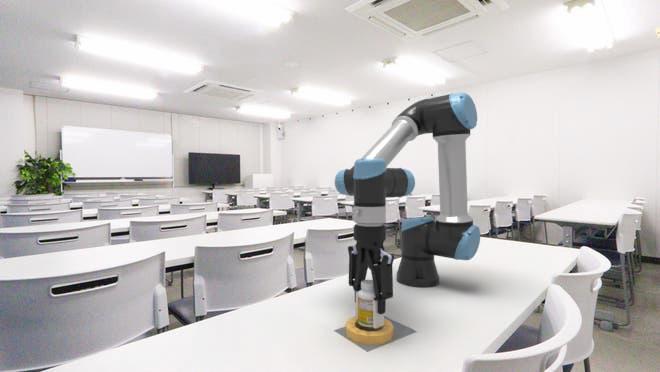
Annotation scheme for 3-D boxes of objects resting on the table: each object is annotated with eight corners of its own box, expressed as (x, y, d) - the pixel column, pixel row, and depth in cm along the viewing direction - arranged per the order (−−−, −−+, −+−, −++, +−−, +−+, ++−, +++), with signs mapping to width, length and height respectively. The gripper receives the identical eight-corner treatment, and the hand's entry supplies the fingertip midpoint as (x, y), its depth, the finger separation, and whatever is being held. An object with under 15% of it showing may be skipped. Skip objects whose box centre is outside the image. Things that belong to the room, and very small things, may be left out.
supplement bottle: (365, 316, 81) (366, 277, 81) (385, 322, 77) (385, 281, 77) (353, 323, 77) (353, 282, 76) (372, 330, 73) (373, 287, 73)
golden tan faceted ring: (336, 330, 78) (336, 322, 78) (370, 319, 85) (370, 311, 85) (367, 350, 69) (367, 340, 69) (402, 335, 76) (402, 327, 76)
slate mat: (333, 332, 78) (333, 330, 78) (381, 316, 88) (381, 314, 88) (367, 354, 69) (367, 351, 69) (417, 333, 78) (417, 331, 78)
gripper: (333, 221, 82) (333, 312, 82) (386, 230, 67) (386, 342, 67) (356, 219, 86) (356, 305, 87) (410, 227, 71) (410, 332, 72)
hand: (369, 321), depth 77 cm, fingers closed on supplement bottle, 5 cm apart
